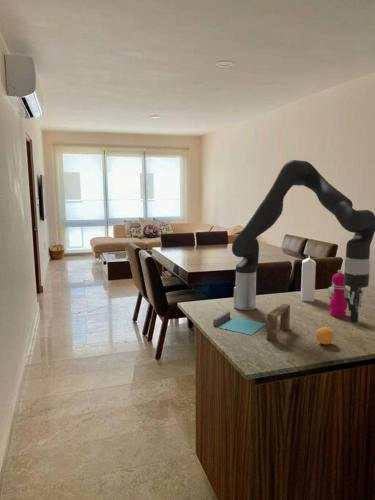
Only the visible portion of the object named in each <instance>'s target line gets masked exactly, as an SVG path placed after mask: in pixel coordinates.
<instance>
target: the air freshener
mask: <svg viewBox="0 0 375 500" xmlns="http://www.w3.org/2000/svg"><path fill="white" fill-rule="evenodd" d="M333 284H334V283H333V281H332V280H331V286H329V287H328V288H327V294H328V297H329V298H330V299H331V298H332V296H333V294H334V288H333ZM348 291H349V289H348V288H347V287H346V288H345V289H344V296H345V299H348V298H349V297H348Z"/></svg>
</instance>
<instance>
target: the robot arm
mask: <svg viewBox="0 0 375 500" xmlns="http://www.w3.org/2000/svg"><path fill="white" fill-rule="evenodd" d="M294 186H298V187H299V186H300V187H301V186H303V187H305V188H308V189H309V190H311V191H312V192H313V193H315V195H316V196H317V199H318V201H319V203H320V205H322V206H323V207H324V208H325V209H326V210H327V211H329V212H330V213H331V214H332V215H334V217H335V219H336V220H337V221H338V222H339V224H340V226H341V227H342V228H343V229H344V230H346V231H348V232H350V233H353V234H354V235H353V237H352V238H350V239H349V240H348V241H347V242H346V246H345V247H346V248H345V261H344V267H343V268H344V271H343V272H344V273H343V274H344V284H345V285H346V286H345V287H349V288H350V289H349V290H348V298H346V299H347V300H346V301H347V308H348V311H349V312H350V316H349V317H350V318H349V321H350V323H353V324H354V323H355V324H356V323H358V321H359V312H360V310H361V307H362V301H363V296H364V291H363V290H362V289H363V288H368V287H369V285H370V272H371V271H370V267H371V266H370V263H371V261H370V257H371V256H370V255H371V254H370V252H371V244H372V242H373V241H372V240H373V238H374V235H375V213H374V212H373V211H372V210H368V209H361V210H360V209H359V210H358V209H354V206H353V205H354V204H353V202H352V200H351V199H350V198H349V197H347V196H346V195H345V194H343V193H342V192H341V191H339V190H338V189H337V188H335V186H333V185H332V184H331V183H330V182H329V181H327V179H326V178H325V177H324V176H323V175H322V174H321V173H320V172H319V171H318V170H317V169H316V167H314V166H313V164H311V163H310V162H309V161H306V160H300V159H299V160H297V159H292V160H291V159H290V160H288V161H287V162H286V163H285V164H284V165H283V166H282V168H281V169H280V171H279V173H278V175H277V176H276V178H275V181H274V183H273V184H272V187H271V188H270V189H269V191H268V192H267V194H266V196H265V197H264V199H263V200H262V202H261V203H260V204H259V206H258V207H257V209H256V210H255V212H254V214H253V215H252V217H251V218H250V219H249V221H248V222H247V223H246V225H245V226H244V228H243V229H242V230H241V231H240V233H238V235H237V236H235V238H234V239H233V242H232V244H231V251H232V254H233V255H234V256H235V257H237V258H242V260H240V262H238V263H237V264H236V265H235V286H234V287H233V308H236V309H237V310H239V311H253V310H255V309H256V305H257V303H256V300H257V298H256V297H257V267H258V265H259V256H260V255H259V254H260V244H259V240H258V237H259V236H261V235H262V234H263V233H265V232H266V231H268V230H269V229H270V228H272V227H273V226H274V225H275V223H276V222H277V221H278V220H279V218H280V216H281V215H282V213H283V210H284V199H285V196H286V195H287V193H288V192H289V190H290V189H291V188H292V187H294Z"/></svg>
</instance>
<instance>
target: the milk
mask: <svg viewBox="0 0 375 500" xmlns="http://www.w3.org/2000/svg"><path fill="white" fill-rule="evenodd" d="M301 263H302V264H301V283H300V284H301V285H300V299H301V301H302V302H315V295H316V294H315V292H316V270H317V269H316V268H317V267H316V266H317V263H316V261H315V260H314V259H312V258H311V256H310V255H308V257H307V258H305V259H303V260H302V261H301Z"/></svg>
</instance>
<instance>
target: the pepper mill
mask: <svg viewBox="0 0 375 500" xmlns="http://www.w3.org/2000/svg"><path fill="white" fill-rule="evenodd" d="M332 281H333V283H334V284H333V288H334V294H333V296H332V298H330V300H329V302H328V303H329V308H330V311H329V315H330V316H332V317H335V318H345V317H346V314H347V312H346V310H347V308H348V302H347V300H346V299H347V298H346V299H345V296H344V289H345V288H347V286H346V285H345V284H344V273H343V270H342V269H338V270H337V273H335V274H334V275H332V277H331V282H332Z"/></svg>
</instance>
